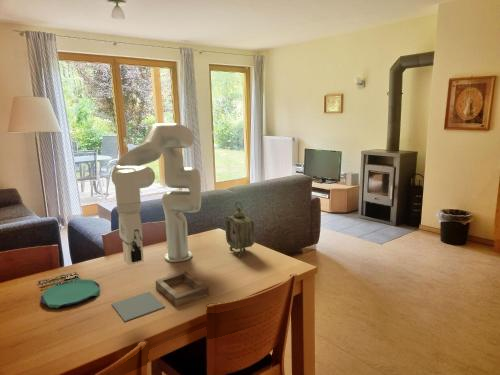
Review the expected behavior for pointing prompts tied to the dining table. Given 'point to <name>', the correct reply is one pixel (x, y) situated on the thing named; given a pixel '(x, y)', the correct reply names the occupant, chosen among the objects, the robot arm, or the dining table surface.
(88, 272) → the dining table surface
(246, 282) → the dining table surface
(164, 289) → the pocket block
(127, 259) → the cream block
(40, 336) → the dining table surface
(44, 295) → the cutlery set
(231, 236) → the grey lantern
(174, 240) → the robot arm
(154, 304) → the rubber mat
